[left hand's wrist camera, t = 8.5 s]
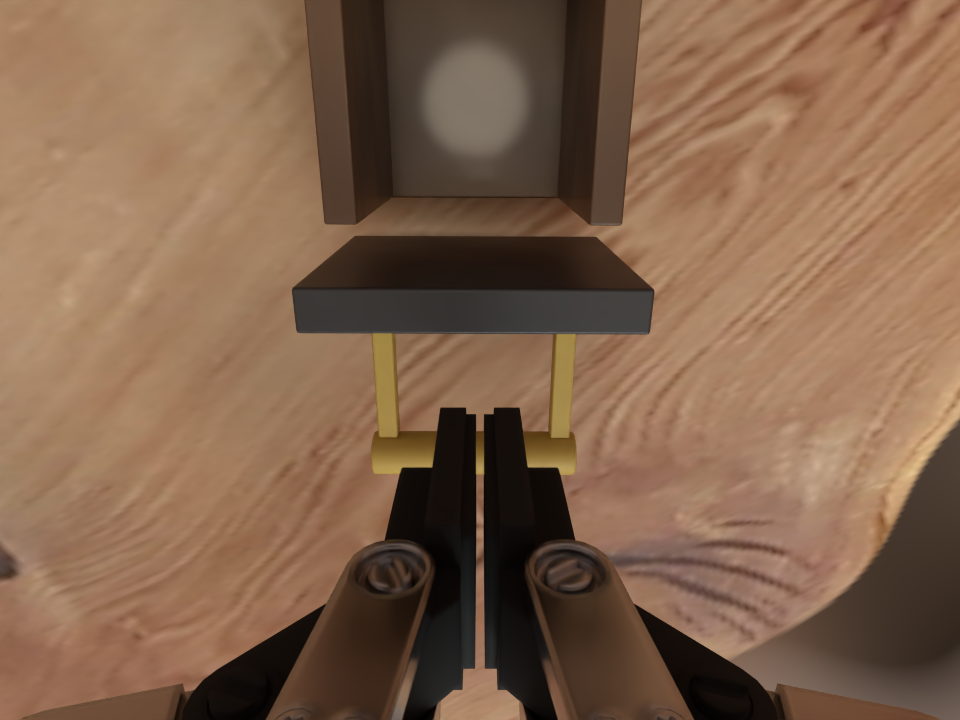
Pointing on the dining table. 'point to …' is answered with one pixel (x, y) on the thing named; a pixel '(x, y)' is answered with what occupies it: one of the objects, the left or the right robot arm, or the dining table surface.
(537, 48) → the drawer
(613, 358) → the dining table surface
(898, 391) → the dining table surface
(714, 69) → the dining table surface
